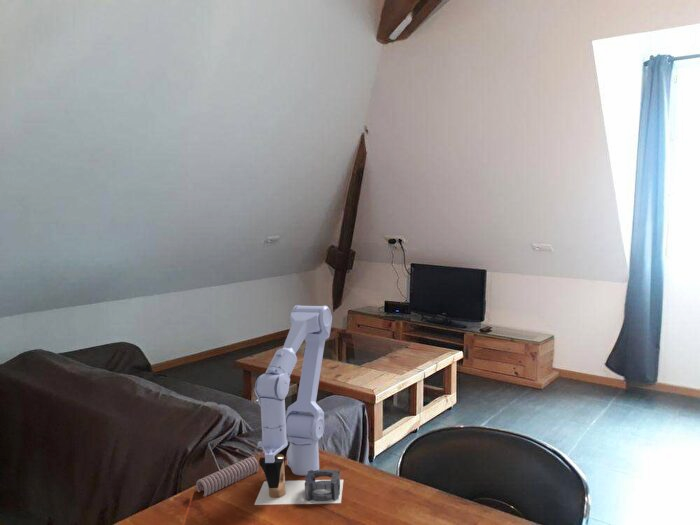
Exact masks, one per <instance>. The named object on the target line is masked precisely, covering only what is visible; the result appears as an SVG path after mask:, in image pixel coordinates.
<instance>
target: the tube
mask: <svg viewBox="0 0 700 525" xmlns="http://www.w3.org/2000/svg"><path fill="white" fill-rule="evenodd" d="M276 457H277V459H284V456H283V455H282V454H276ZM285 471H286V470H285V468H284V461H283V464H282V466H281V471H280V481H279V486H278V488H269V486H268V489H269V496H270V497H271V498H280V497H283V496H284V495H285V494H286V489H285V481H286V475H285V474H286V473H285Z"/></svg>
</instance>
